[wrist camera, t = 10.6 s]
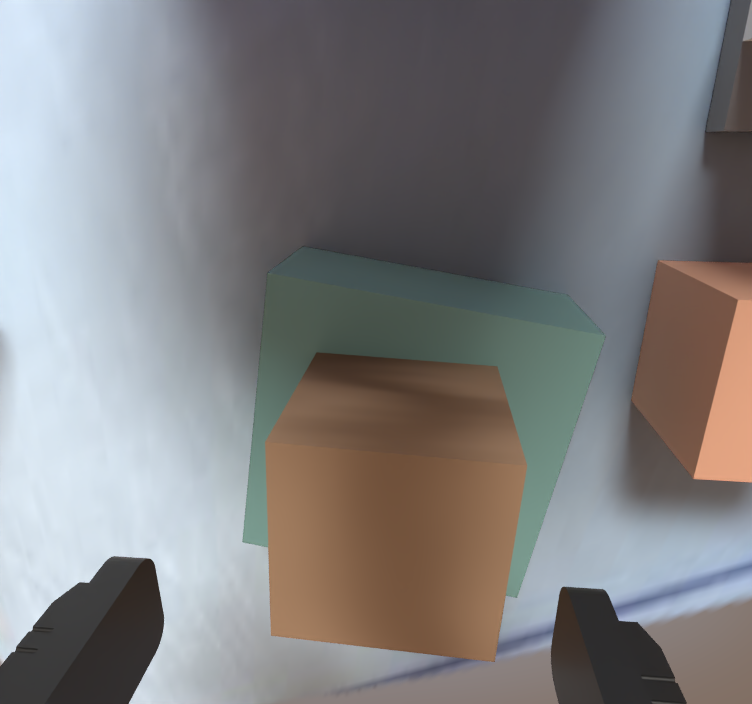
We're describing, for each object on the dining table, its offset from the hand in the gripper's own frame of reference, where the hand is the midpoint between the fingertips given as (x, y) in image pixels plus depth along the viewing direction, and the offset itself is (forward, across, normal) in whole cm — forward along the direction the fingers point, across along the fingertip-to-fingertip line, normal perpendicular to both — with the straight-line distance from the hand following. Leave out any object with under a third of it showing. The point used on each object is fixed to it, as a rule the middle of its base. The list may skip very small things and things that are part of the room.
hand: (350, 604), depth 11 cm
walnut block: (+7, -1, 0) cm, 7 cm away
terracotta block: (+12, -12, -2) cm, 17 cm away
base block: (+12, -1, +1) cm, 12 cm away
